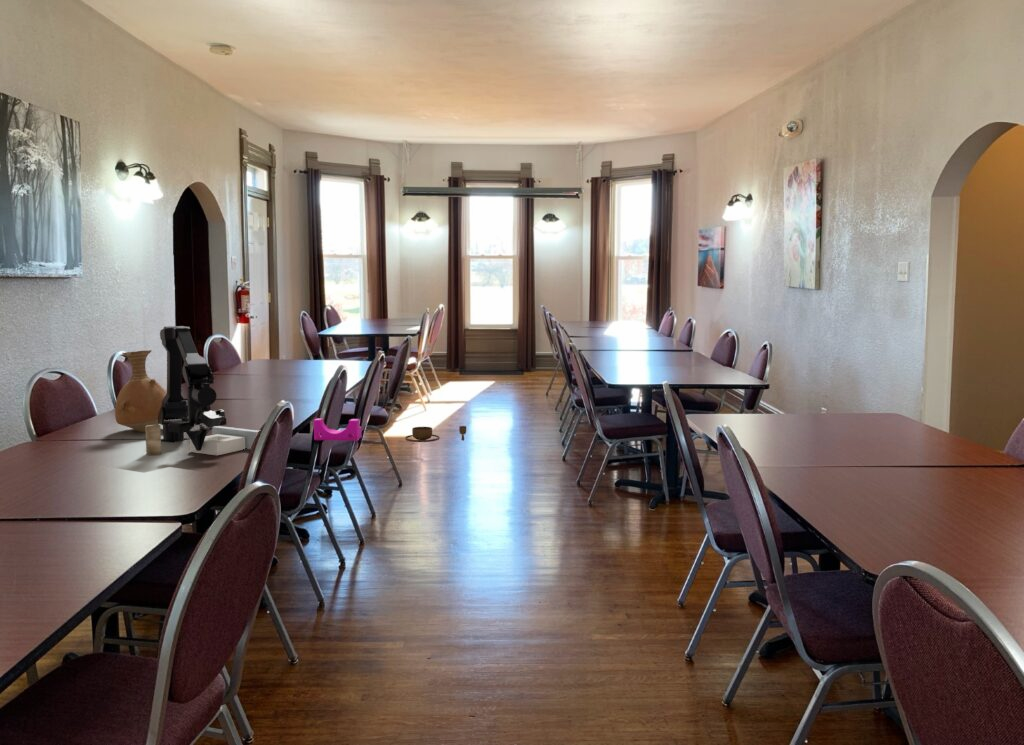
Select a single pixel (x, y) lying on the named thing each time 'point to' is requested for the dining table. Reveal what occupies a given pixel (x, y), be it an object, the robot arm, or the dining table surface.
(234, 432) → the board
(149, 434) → the dowel
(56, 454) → the dining table surface
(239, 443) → the socket block
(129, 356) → the jug
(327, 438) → the toy block
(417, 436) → the place setting
